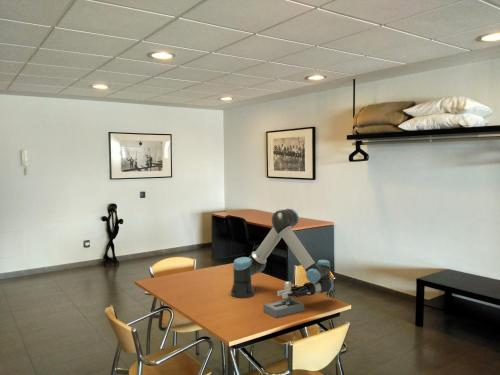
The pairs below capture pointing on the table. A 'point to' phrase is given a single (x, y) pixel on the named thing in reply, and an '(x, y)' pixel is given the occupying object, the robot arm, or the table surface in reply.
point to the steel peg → (287, 289)
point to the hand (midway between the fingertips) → (280, 294)
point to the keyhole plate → (283, 308)
